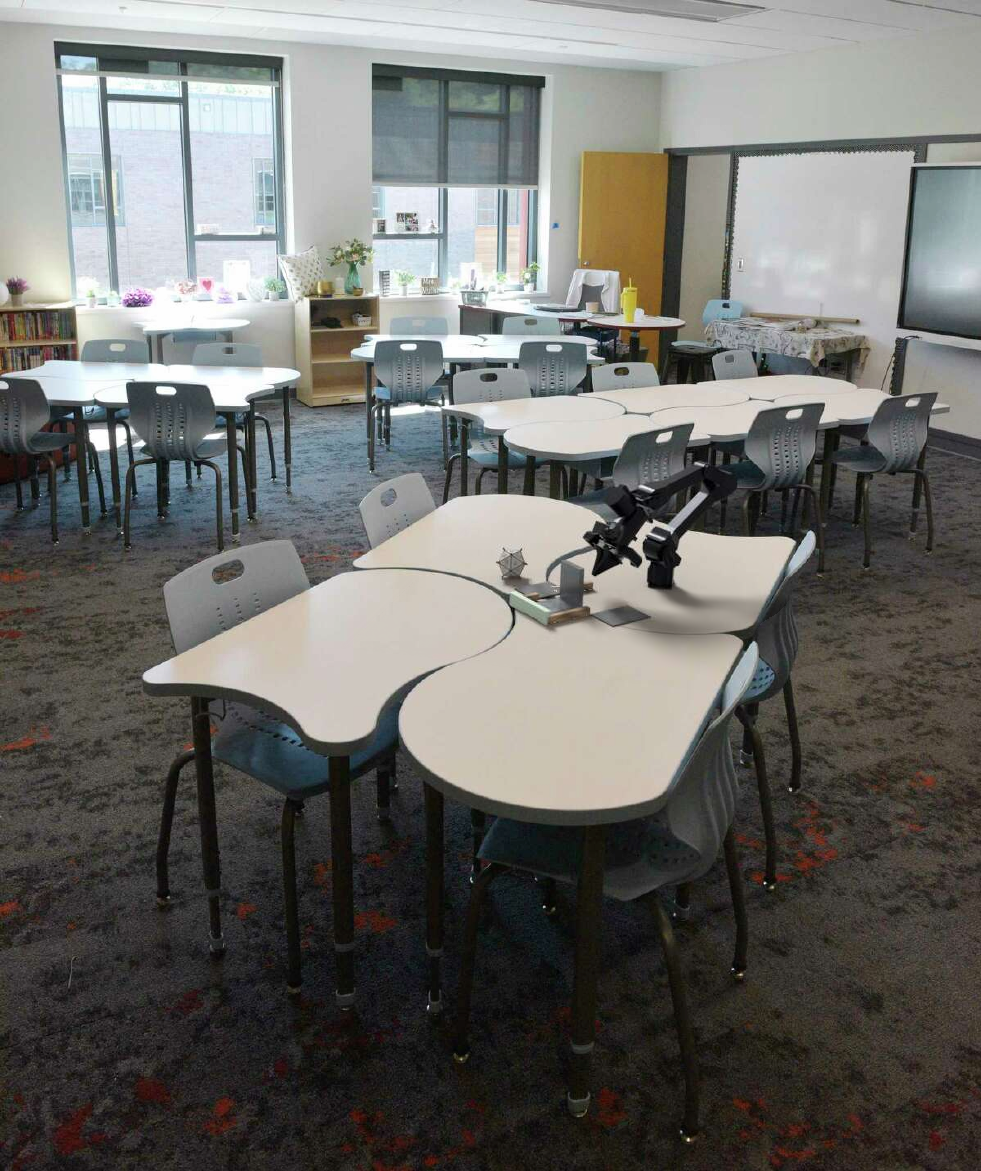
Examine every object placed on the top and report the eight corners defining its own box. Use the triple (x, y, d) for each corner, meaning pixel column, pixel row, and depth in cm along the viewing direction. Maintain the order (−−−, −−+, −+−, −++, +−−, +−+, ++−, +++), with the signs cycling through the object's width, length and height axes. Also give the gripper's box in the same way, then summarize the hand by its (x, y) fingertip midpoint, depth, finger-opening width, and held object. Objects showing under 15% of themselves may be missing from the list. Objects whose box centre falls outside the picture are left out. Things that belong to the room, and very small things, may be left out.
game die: (516, 587, 298) (536, 557, 298) (514, 587, 289) (535, 556, 289) (489, 569, 299) (509, 539, 298) (486, 568, 290) (507, 537, 290)
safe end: (514, 604, 276) (514, 591, 275) (550, 624, 263) (551, 610, 262) (509, 605, 275) (509, 592, 274) (545, 625, 262) (546, 612, 261)
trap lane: (569, 577, 295) (569, 570, 294) (650, 617, 268) (651, 609, 267) (492, 594, 282) (492, 586, 282) (569, 637, 255) (569, 629, 255)
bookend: (564, 599, 279) (565, 559, 275) (582, 609, 273) (584, 568, 269) (525, 608, 273) (526, 567, 269) (543, 618, 267) (544, 576, 263)
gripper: (589, 500, 281) (554, 548, 279) (635, 518, 266) (598, 569, 264) (612, 524, 287) (578, 571, 286) (658, 543, 273) (622, 592, 271)
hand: (593, 575), depth 277 cm, fingers closed
